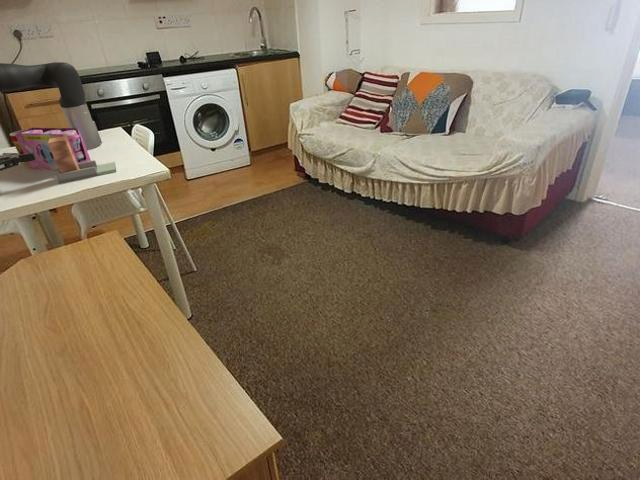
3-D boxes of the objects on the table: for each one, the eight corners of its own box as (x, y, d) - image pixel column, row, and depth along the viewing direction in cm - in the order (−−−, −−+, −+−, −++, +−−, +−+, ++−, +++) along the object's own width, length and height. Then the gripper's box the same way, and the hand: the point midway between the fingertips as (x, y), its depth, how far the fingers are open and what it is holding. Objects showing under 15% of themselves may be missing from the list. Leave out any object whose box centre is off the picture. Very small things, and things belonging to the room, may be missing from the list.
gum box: (96, 164, 147) (82, 128, 140) (79, 171, 140) (64, 134, 133) (47, 161, 153) (32, 127, 146) (30, 168, 147) (13, 133, 140)
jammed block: (62, 177, 132) (47, 143, 126) (64, 172, 137) (49, 138, 130) (79, 174, 134) (65, 140, 127) (79, 169, 138) (66, 136, 132)
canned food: (36, 166, 149) (21, 135, 142) (19, 166, 150) (4, 135, 144) (51, 159, 155) (38, 129, 149) (35, 159, 157) (21, 129, 151)
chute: (59, 183, 131) (55, 175, 129) (60, 175, 138) (57, 167, 136) (116, 171, 137) (113, 163, 136) (115, 164, 144) (112, 156, 143)
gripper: (-42, 161, 115) (26, 150, 121) (-31, 150, 125) (31, 140, 131) (-29, 185, 119) (36, 173, 125) (-19, 172, 129) (41, 161, 135)
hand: (34, 156), depth 128 cm, fingers closed
